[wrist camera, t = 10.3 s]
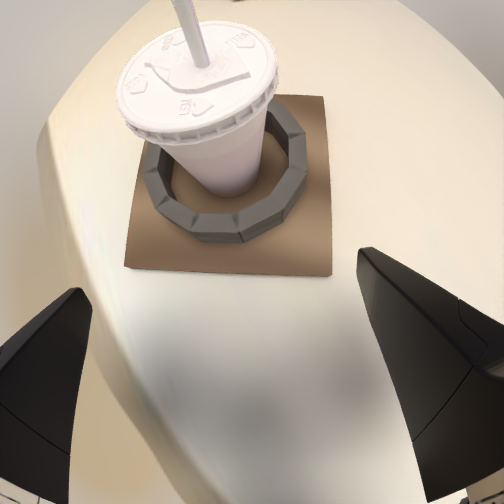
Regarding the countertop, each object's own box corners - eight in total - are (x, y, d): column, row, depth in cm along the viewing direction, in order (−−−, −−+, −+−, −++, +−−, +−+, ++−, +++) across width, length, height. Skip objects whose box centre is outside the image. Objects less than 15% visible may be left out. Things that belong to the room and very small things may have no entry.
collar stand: (329, 276, 18) (341, 268, 14) (130, 268, 19) (104, 260, 16) (321, 104, 20) (326, 74, 17) (158, 109, 21) (143, 83, 18)
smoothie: (255, 234, 18) (191, 41, 4) (165, 198, 19) (20, 50, 5) (294, 147, 18) (304, -58, 5) (209, 120, 19) (142, -53, 6)
